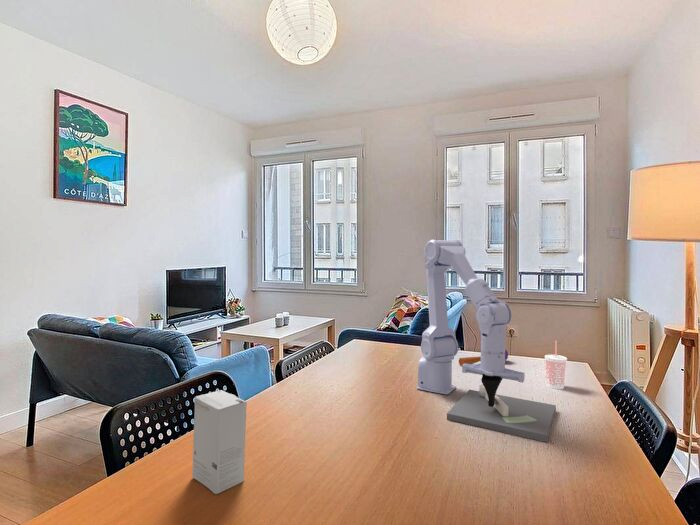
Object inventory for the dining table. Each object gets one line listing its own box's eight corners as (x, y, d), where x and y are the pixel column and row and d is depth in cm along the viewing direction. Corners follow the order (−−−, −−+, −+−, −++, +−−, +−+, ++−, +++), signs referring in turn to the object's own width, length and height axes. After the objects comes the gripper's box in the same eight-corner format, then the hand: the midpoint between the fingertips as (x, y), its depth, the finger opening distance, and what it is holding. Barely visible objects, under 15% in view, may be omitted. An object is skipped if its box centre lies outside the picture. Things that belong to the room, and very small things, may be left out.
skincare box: (191, 478, 73) (190, 396, 73) (221, 465, 78) (220, 388, 78) (217, 496, 68) (216, 408, 68) (247, 481, 73) (247, 398, 72)
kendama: (455, 353, 147) (498, 344, 155) (457, 370, 147) (501, 360, 154) (465, 354, 142) (510, 345, 149) (468, 372, 141) (513, 361, 149)
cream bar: (477, 393, 112) (477, 384, 112) (488, 393, 113) (488, 384, 112) (499, 416, 97) (499, 406, 97) (512, 416, 97) (512, 406, 97)
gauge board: (446, 419, 99) (446, 412, 99) (469, 394, 116) (469, 388, 116) (546, 442, 88) (546, 434, 88) (555, 411, 105) (555, 404, 105)
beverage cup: (544, 388, 122) (545, 341, 121) (543, 382, 128) (544, 337, 127) (567, 391, 120) (568, 343, 119) (565, 384, 125) (566, 339, 125)
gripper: (458, 350, 101) (458, 404, 102) (521, 359, 94) (520, 417, 94) (467, 344, 107) (466, 395, 108) (526, 352, 100) (525, 407, 100)
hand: (491, 405), depth 101 cm, fingers closed, pressing on cream bar
